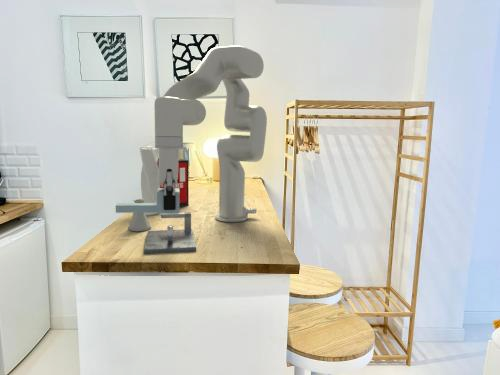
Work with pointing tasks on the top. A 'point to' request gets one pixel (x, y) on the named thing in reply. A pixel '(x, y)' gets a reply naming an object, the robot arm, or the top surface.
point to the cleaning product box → (181, 182)
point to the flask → (139, 220)
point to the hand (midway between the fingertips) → (169, 206)
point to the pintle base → (164, 247)
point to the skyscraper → (149, 175)
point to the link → (149, 205)
